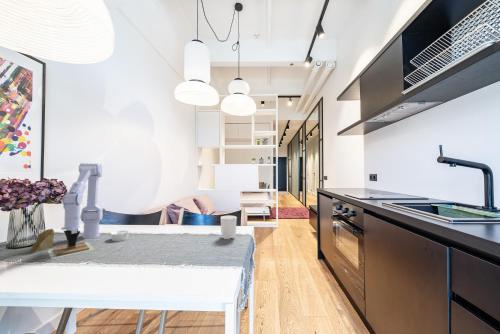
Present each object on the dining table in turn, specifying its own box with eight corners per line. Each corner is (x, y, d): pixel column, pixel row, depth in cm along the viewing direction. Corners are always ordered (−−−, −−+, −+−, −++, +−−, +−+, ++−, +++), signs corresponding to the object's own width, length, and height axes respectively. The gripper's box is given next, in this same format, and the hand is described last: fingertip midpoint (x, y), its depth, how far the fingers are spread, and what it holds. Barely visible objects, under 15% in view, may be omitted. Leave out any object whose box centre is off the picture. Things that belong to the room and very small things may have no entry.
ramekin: (108, 242, 118) (108, 234, 118) (114, 237, 126) (114, 230, 126) (126, 241, 120) (126, 233, 120) (130, 236, 129) (130, 229, 129)
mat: (47, 250, 105) (47, 249, 105) (87, 242, 117) (87, 242, 117) (51, 259, 94) (51, 259, 94) (94, 250, 106) (94, 249, 106)
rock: (33, 250, 99) (59, 241, 108) (26, 235, 100) (52, 227, 109) (27, 260, 103) (53, 251, 112) (20, 245, 105) (46, 237, 114)
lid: (53, 249, 105) (53, 240, 105) (83, 243, 114) (84, 234, 114) (56, 256, 97) (56, 245, 97) (89, 249, 106) (89, 239, 106)
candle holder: (217, 238, 125) (217, 218, 126) (224, 234, 135) (224, 215, 135) (233, 240, 123) (233, 219, 123) (238, 235, 132) (239, 216, 132)
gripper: (59, 216, 108) (58, 243, 108) (63, 221, 98) (62, 251, 98) (77, 214, 113) (76, 240, 113) (82, 218, 103) (82, 247, 103)
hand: (71, 245), depth 106 cm, fingers closed on lid, 3 cm apart
